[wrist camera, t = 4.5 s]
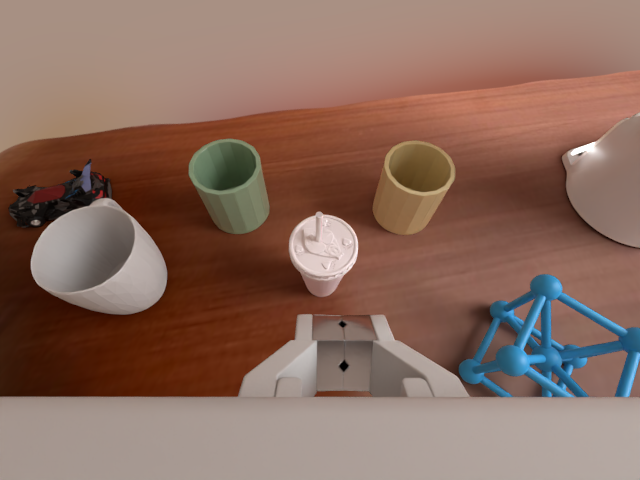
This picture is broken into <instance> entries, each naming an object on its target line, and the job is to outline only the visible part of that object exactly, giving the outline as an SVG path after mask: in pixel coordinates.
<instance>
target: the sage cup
mask: <svg viewBox="0 0 640 480" xmlns="http://www.w3.org/2000/svg"><path fill="white" fill-rule="evenodd" d="M189 177H190V179H191V181H192V183H193V184H194V186H195V188H196V190H197V192H198V194H199V196H200V198H201V200H202V202H203V203H204V205H205V207H206V209H207V211H208V213H209V215H210V217H211V218H212V220H213V222H214V224H215V225H216V226H217V227H218V228H219V229H221V230H223V231H225V232H227V233H231V234H244V233H248V232H251V231H253V230H255V229H257V228H258V227H259V226H261V225H262V224H263V223H264V221H265V220H266V218H267V217H268V214H269V211H270V204H269V197H268V192H267V188H266V183H265V178H264V173H263V169H262V164H261V159H260V155H259V154H258V153H257V151H256V150H255V148H254V147H253V146H251V145H249V144H248V143H246V142H244V141H241V140H235V139H222V140H216V141H214V142H211V143H209V144H206V145H205V146H203V147H202V148H201V149H199V150H198V151H197V152H196V153H195V154H194V155H193V157H192V159H191V161H190V163H189Z"/></svg>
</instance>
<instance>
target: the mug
mask: <svg viewBox="0 0 640 480" xmlns="http://www.w3.org/2000/svg"><path fill="white" fill-rule="evenodd" d="M31 272H32V276H33V278H34V279H35V281H36V282H37V284H38V285H39V286H40V287H42V288H43V289H45V290H46V291H48V292H49V293H51V294H52V295H54V296H56V297H58V298H60V299H63V300H65V301H67V302H69V303H72V304H75V305H78V306H80V307H83V308H86V309H89V310H92V311H97V312H103V313H108V314H122V315H124V314H133V313H137V312H140V311H143V310H145V309H147V308H149V307H151V306H152V305H153V304H155V303H156V302H157V301H158V300H159V299H160V297H161V296H162V294H163V293H164V290H165V287H166V283H167V269H166V264H165V261H164V259H163V257H162V254H161V252H160V250H159V249H158V247H157V246H156V244H155V243H154V241H153V240H152V238H151V237H150V235H149V234H148V233H147V232H146V231H145V230H144V229H143V228H142V227H141V225H140V224H139V223H138V222H137V221H136V220H135V219H134V218H133V217H132V216H131V215H129V214H128V213H127V212H125V211H124V210H123V209H122V208H121V206H120V205H118V204H117V203H116V202H115V201H114V200H112V199H109V198H101V199H98V200H96V201H94V202H93V203H92V204H90V206H86V207H82V208H79V209H75V210H72V211H70V212H68V213H66V214H64V215H62V216H60V217H59V218H58V219H56V220H55V221H54V222H52V223H51V224H50V225H49V226H48V227H47V228H46V229H45V230H44V232H43V233H42V234H41V236H40V238H39V239H38V241H37V243H36V245H35V247H34V250H33V254H32V257H31Z"/></svg>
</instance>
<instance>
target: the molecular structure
mask: <svg viewBox="0 0 640 480" xmlns="http://www.w3.org/2000/svg"><path fill="white" fill-rule="evenodd" d="M530 289H531V291H530V292H528V293H526V294H524V295H523V296H521V297H519V298H517V299H515V300H514V301H512V302H510V303H508V302H506V301H496V302H494V303H493V304H492V305H491V307H490V314H491V316H492V317H493V318H494V319H493V321H492V323H491V325H490V327H489V329H488V331H487V333H486V335H485V337H484V339H483V341H482V343H481V344H480V346H479V348H478V350H477V352H476V354H475V356H474V358H473V360H472V359H467V360H464V361H463V362H461V364H460V365H459V374H460V376H461V378H462V379H463V380H464V381H465V382H467V383H469V384H477V383H479V382H481V383H482V384H483V385H485V386H486V387H488V388H489V389H490V390H492V391H493V392H495V393H496V394H497V395H499V396H500V397H513V396H512V395H510V394H509V393H508V392H506V391H505V390H503V389H502V388H500V387H499V386H498V385H496V384H495V383H493V382H492V381H490V380H489V379H488V378H486V377H485V376H484V373H489V372H495V371H501V370H502V371H503V372H504V373H505V374H507V375H510V376H521V375H523V374H525V375H526V376H528V377H529V378H531V379H532V380H534V381H535V382H537V383H538V384H540V385H541V386H542V397H551V393H553V396H552V397H574V396H573V395H571V394H570V393H568V392H567V391H565V389H566V386H567V387H568V388H569V389H570V390H571V391H572V392H573V393H574V395H575V396H576V397H589V396H588V395H587V394H586V393H585V392H584V391H583V390H582V389H581V388H580V386H579V385H578V384H577V383H576V382H575V381H574V380H573V379H572V378H571V377H570V376H571V373H572V370H573V369H578V368H581V367H583V366H584V365H585V364H586V362H587V357H592V356H597V355H602V354H607V353H612V352H617V351H622V350H625V351H626V352H627V353H628V355H627V358H626V361H625V365H624V368H623V371H622V375H621V378H620V381H619V385H618V388H617V391H616V394H615V397H629V395H630V391H631V388H632V384H633V381H634V377H635V374H636V370H637V367H638V363H639V360H640V328H637V327H632V328H628V329H624V328H622V327H620V326H619V325H617V324H615V323H614V322H612V321H610V320H608V319H607V318H605V317H603V316H602V315H600V314H598V313H597V312H595V311H593V310H591V309H590V308H588V307H586V306H585V305H583V304H581V303H580V302H578V301H576V300H574V299H573V298H571V297H569V296H568V295H566V294H564V293H563V292H562V285H561V283H560V281H559V280H558V279H557V278H555V277H554V276H551V275H548V274H543V275H539V276H536V277H535V278H534V279H533V280H532V281H531V284H530ZM533 299H535V300H534V302H533V304H532V306H531V309H530V311H529V313H528V315H527V317H526V319H525V321H522V320H521V319H519V318H518V317H516V316H515V315H514V309H515V308H517V307H519V306H521V305H523V304H525V303H527V302H529V301H531V300H533ZM554 299H558V300H559V301H561V302H563V303H564V304H566V305H568V306H569V307H571V308H573V309H574V310H576V311H578V312H579V313H581V314H583V315H584V316H586V317H588V318H589V319H591V320H593V321H594V322H596V323H598V324H600V325H601V326H603V327H605V328H606V329H608V330H610V331H611V332H613V333H615V334H616V335H618V336H619V341H614V342H608V343H603V344H597V345H592V346H586V347H581V348H580V347H578V346H576V345H565V346H562V345H560V344H559V343H557V342H556V341H554V340H552V339H551V300H554ZM540 312H541V332H540V331H538V330H537V329H535V328H534V325H535V323H536V320H537V318H538V316H539V314H540ZM501 322H507V323H508V324H509V325H510V326H511V327H512V328H513V329H514V330H515V331H516V332H517V333H518V336H517V339H516V341H515V343H514V345H507V346H503V347H502V348H500V349H499V350H498V352H497V354H496V360H494V361H491V362H487V363H484V364H480V363H481V361H482V359H483V357H484V355H485V353H486V351H487V349H488V347H489V345H490V343H491V341H492V339H493V337H494V335H495V333H496V331H497V329H498V327H499V325H500V323H501ZM530 334H532V335H533V336H535V337H536V338H538V339H539V340H541V345H539V344H538V343H537V342H536V341H535V340H534V339H533V338H532V337H531V336H530ZM526 343H527V344H528V345H529V346H530V347H531V348H532V349H533V351H532V353H531V355H527V354H526V353H525V352H524V351H523V349H524V347H525V345H526ZM562 363H563V364H564V367H563V369H562V368H561V365H562ZM530 365H535V366H536V367H537V368H539V369H540V370H542V375H541V374H540V373H538V372H537V371H535V370H534V369H532V368H531V367H529V366H530ZM551 372H554V373H555V374H556V375H557V376H558V377H559V380H558V383H557V385H556V384H555V383H553V382H552V381H551Z"/></svg>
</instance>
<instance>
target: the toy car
mask: <svg viewBox="0 0 640 480" xmlns="http://www.w3.org/2000/svg"><path fill="white" fill-rule="evenodd" d="M90 165H91V159H90V160H89V161H88V162H87V164H86V165H85V167H84V170H83V171H79V170H73V171H72V170H70V173H71V174H73V175H74V176H76V178H74V179H71V180H70V181H67V182H65V183H63V184H58V185H56V186H53V187H49V188H45V187H35V186H36V185H35V186H31V187H27V188H26V189H16V190H13V192H14V193H16V194H17V195H18V196H19V197H18V199H17V201H16V202H14V203H13V204H12V205H10V207H9V208H8V209H9V212H10V215H11V217H13V218H14V219H16V221H17V226H18V227H22V228H25V227H30V226H32V227H39V226H42V225H43V224H44V223H45V219H48V220H53V219H57V218H59V217H60V216H62V215H64V214H66V213H68V212H70V211H72V210H75V209H79V208H82V207H86V206H90V204H92V203H93V202H94V201H96V200H98V199H101V198H109V199H111V198H112V190H111V185H110V179H109V178H107V179H105V178H104V177H103V176H102V175H101V174H100V173H96V172H95V173H94V172H90ZM29 186H30V185H29ZM25 203H26V204H25ZM21 219H22V221H21ZM25 222H26V223H27V224H28V225H29V226H28V225H26V223H25Z"/></svg>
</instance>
